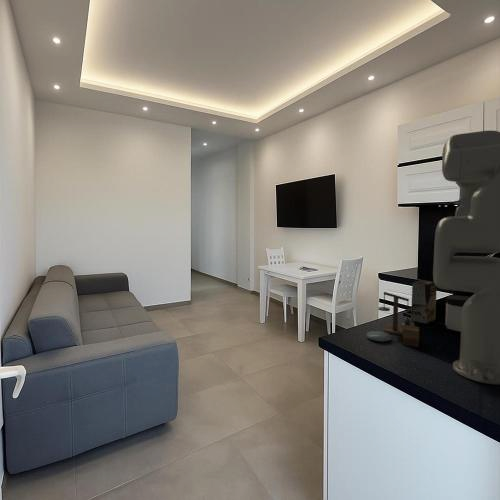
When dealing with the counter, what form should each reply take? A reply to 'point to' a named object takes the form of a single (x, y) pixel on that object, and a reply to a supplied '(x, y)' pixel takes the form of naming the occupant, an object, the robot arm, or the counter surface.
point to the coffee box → (423, 301)
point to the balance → (395, 315)
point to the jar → (454, 311)
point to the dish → (379, 336)
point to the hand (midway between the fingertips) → (469, 248)
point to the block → (411, 335)
